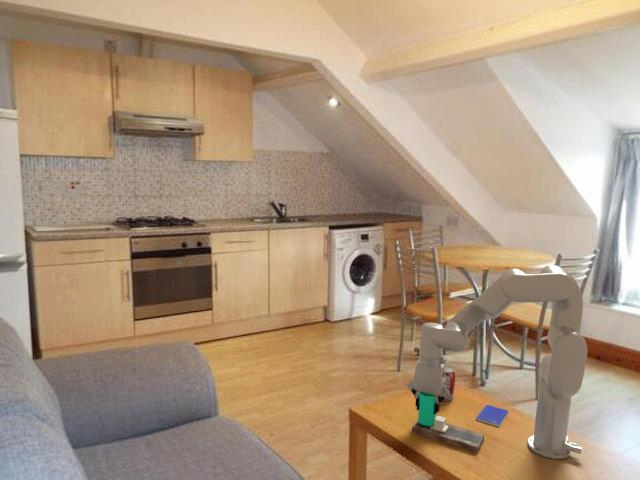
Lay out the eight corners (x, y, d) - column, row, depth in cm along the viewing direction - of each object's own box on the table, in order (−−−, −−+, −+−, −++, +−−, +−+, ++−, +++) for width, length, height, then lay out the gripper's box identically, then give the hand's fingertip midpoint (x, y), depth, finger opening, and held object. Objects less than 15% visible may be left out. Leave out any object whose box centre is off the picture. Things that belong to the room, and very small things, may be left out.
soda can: (435, 401, 194) (437, 371, 192) (434, 393, 201) (436, 364, 199) (454, 403, 193) (456, 373, 191) (452, 395, 200) (455, 366, 198)
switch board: (484, 440, 168) (484, 434, 168) (477, 453, 160) (478, 447, 160) (420, 421, 179) (420, 415, 178) (411, 432, 171) (411, 426, 171)
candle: (422, 415, 177) (424, 382, 175) (438, 420, 173) (441, 387, 172) (415, 422, 172) (417, 388, 170) (431, 427, 169) (433, 393, 167)
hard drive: (499, 424, 177) (508, 410, 187) (476, 417, 181) (486, 404, 191) (499, 428, 177) (508, 414, 187) (475, 421, 181) (485, 408, 192)
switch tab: (448, 427, 171) (449, 418, 171) (445, 432, 168) (445, 423, 167) (434, 423, 174) (434, 414, 173) (430, 428, 170) (431, 419, 170)
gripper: (459, 361, 168) (455, 413, 171) (410, 351, 177) (407, 400, 180) (452, 369, 162) (448, 422, 165) (402, 358, 170) (399, 408, 173)
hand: (427, 410), depth 172 cm, fingers closed on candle, 5 cm apart
